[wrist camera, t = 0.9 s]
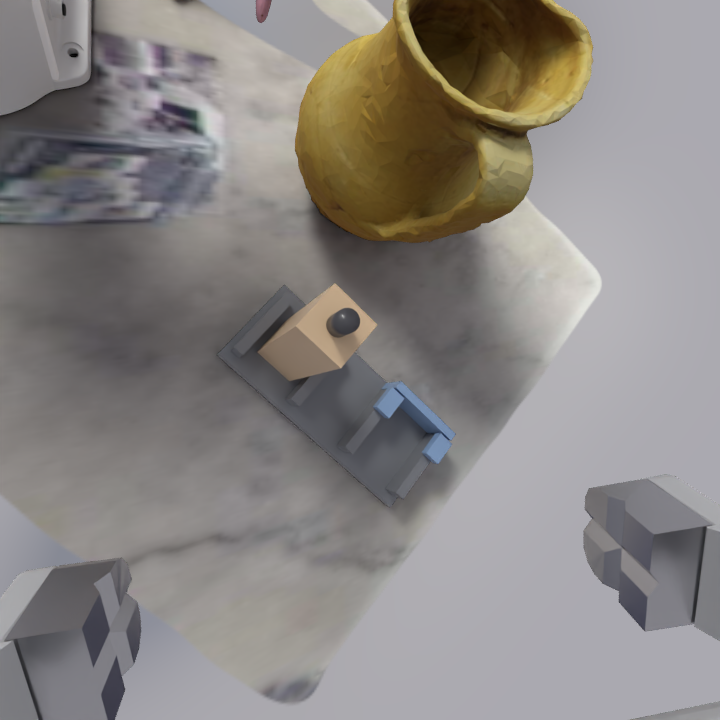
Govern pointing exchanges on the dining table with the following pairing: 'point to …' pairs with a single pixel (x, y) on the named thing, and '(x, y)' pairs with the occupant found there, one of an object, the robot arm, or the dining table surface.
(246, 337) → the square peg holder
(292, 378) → the plug
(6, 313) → the dining table surface
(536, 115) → the pitcher
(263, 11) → the video game controller
